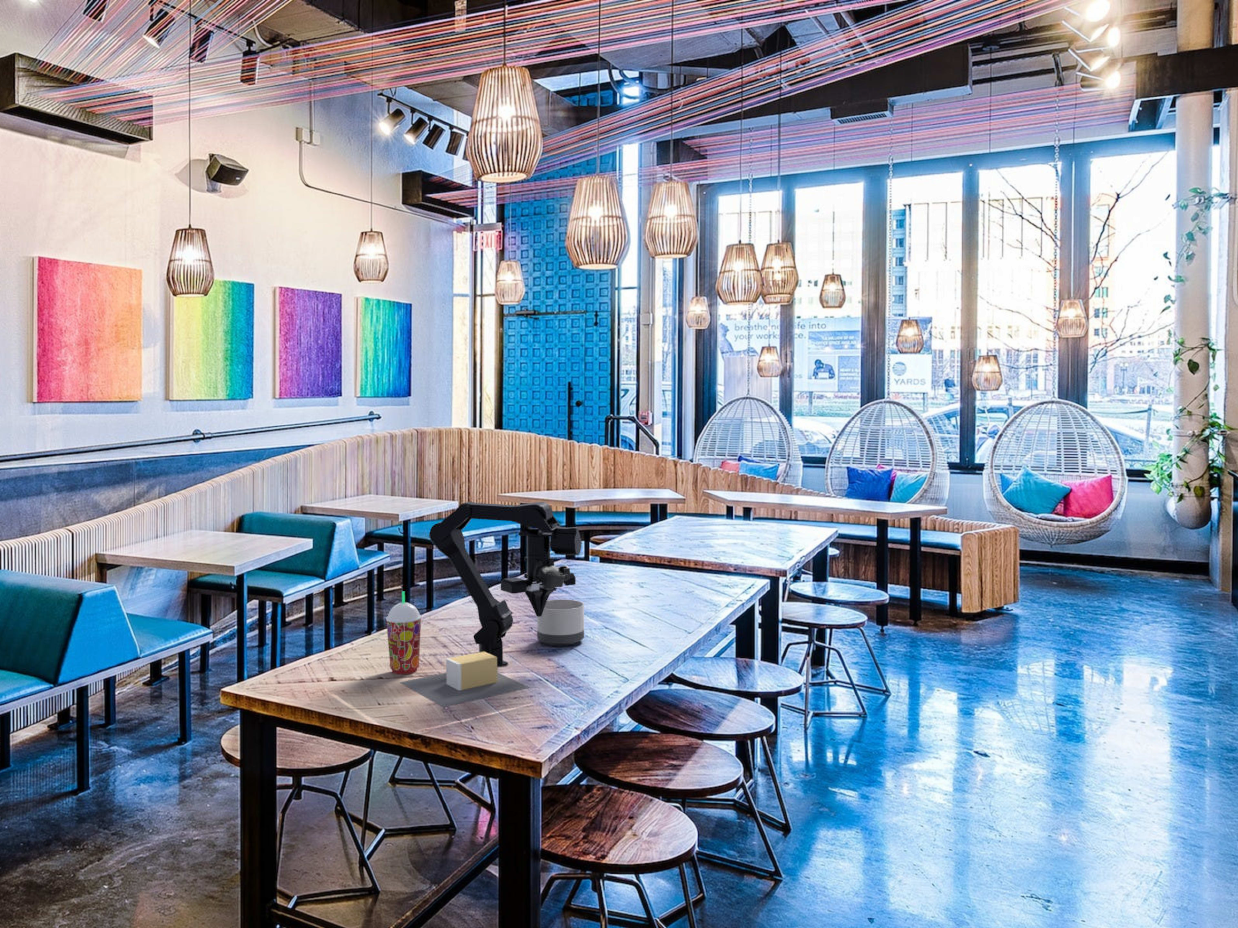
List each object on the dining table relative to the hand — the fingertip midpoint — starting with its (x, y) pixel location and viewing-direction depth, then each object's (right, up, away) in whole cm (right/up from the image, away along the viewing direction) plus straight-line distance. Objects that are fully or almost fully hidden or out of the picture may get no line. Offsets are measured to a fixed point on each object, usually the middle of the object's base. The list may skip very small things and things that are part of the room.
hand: (538, 616), depth 229 cm
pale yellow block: (-18, -11, -16) cm, 27 cm away
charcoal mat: (-16, -14, -14) cm, 26 cm away
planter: (+4, -12, +25) cm, 28 cm away
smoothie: (-32, -14, -3) cm, 35 cm away
